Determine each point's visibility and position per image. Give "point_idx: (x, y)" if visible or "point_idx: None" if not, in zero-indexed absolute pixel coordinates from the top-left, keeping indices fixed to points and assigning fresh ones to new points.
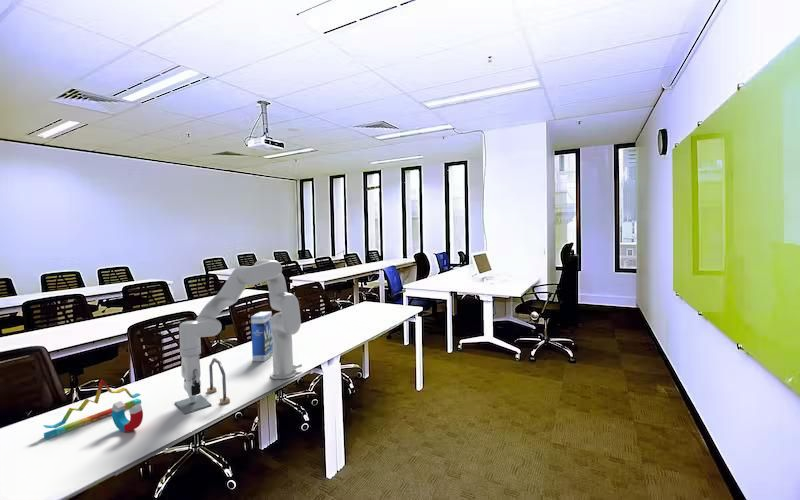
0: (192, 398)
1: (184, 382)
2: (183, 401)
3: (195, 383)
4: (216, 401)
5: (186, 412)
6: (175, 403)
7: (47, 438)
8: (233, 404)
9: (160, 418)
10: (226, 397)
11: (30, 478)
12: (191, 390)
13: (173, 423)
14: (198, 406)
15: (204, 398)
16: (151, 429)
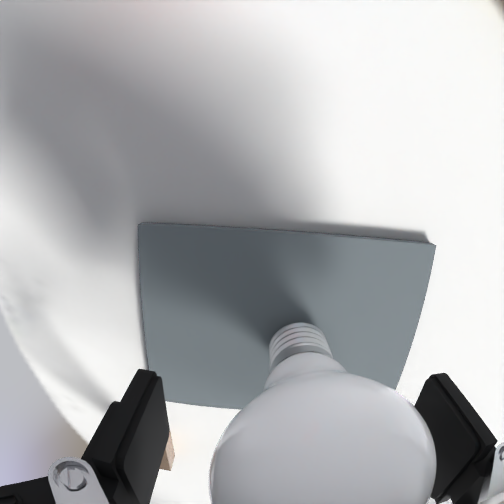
0: (273, 359)
1: (398, 457)
2: (390, 296)
3: (12, 486)
4: (204, 429)
5: (139, 238)
6: (419, 242)
7: None
8: None
9: (228, 62)
10: (162, 466)
11: None
12: (135, 411)
13: (65, 122)
14: (182, 340)
15: None
16: (103, 6)
